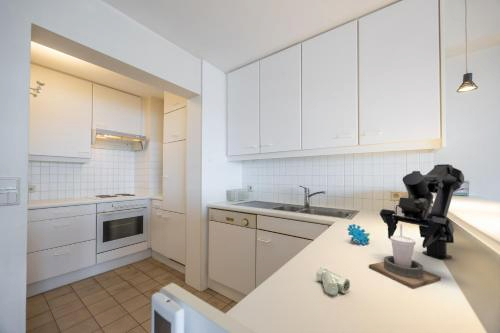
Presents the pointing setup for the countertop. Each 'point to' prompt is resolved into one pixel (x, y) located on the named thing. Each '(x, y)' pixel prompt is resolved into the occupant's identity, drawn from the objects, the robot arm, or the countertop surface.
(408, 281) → the collar stand
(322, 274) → the pipe fitting
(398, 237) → the smoothie
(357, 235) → the gear
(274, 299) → the countertop surface
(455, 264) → the countertop surface
